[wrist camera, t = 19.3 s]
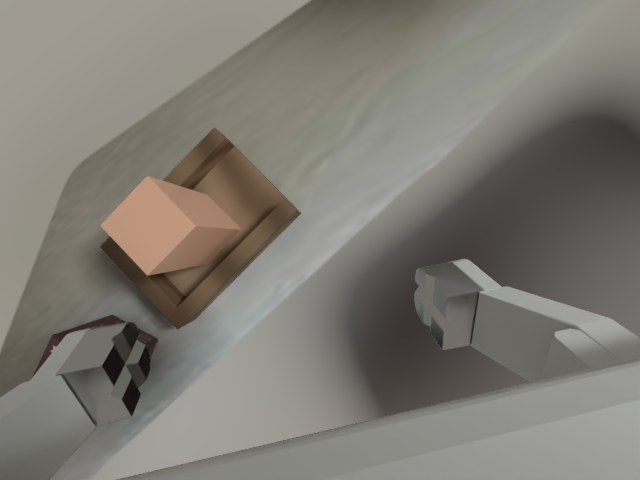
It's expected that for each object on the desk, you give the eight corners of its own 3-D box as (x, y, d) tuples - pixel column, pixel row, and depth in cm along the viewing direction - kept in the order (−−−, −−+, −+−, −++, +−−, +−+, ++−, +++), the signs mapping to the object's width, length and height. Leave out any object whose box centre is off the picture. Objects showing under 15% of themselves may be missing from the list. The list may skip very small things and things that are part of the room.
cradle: (227, 138, 33) (214, 127, 30) (301, 213, 33) (296, 210, 29) (124, 246, 34) (99, 246, 31) (194, 319, 34) (177, 329, 30)
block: (207, 194, 32) (147, 175, 22) (241, 229, 32) (195, 225, 22) (174, 229, 33) (100, 225, 23) (207, 264, 32) (147, 275, 22)
